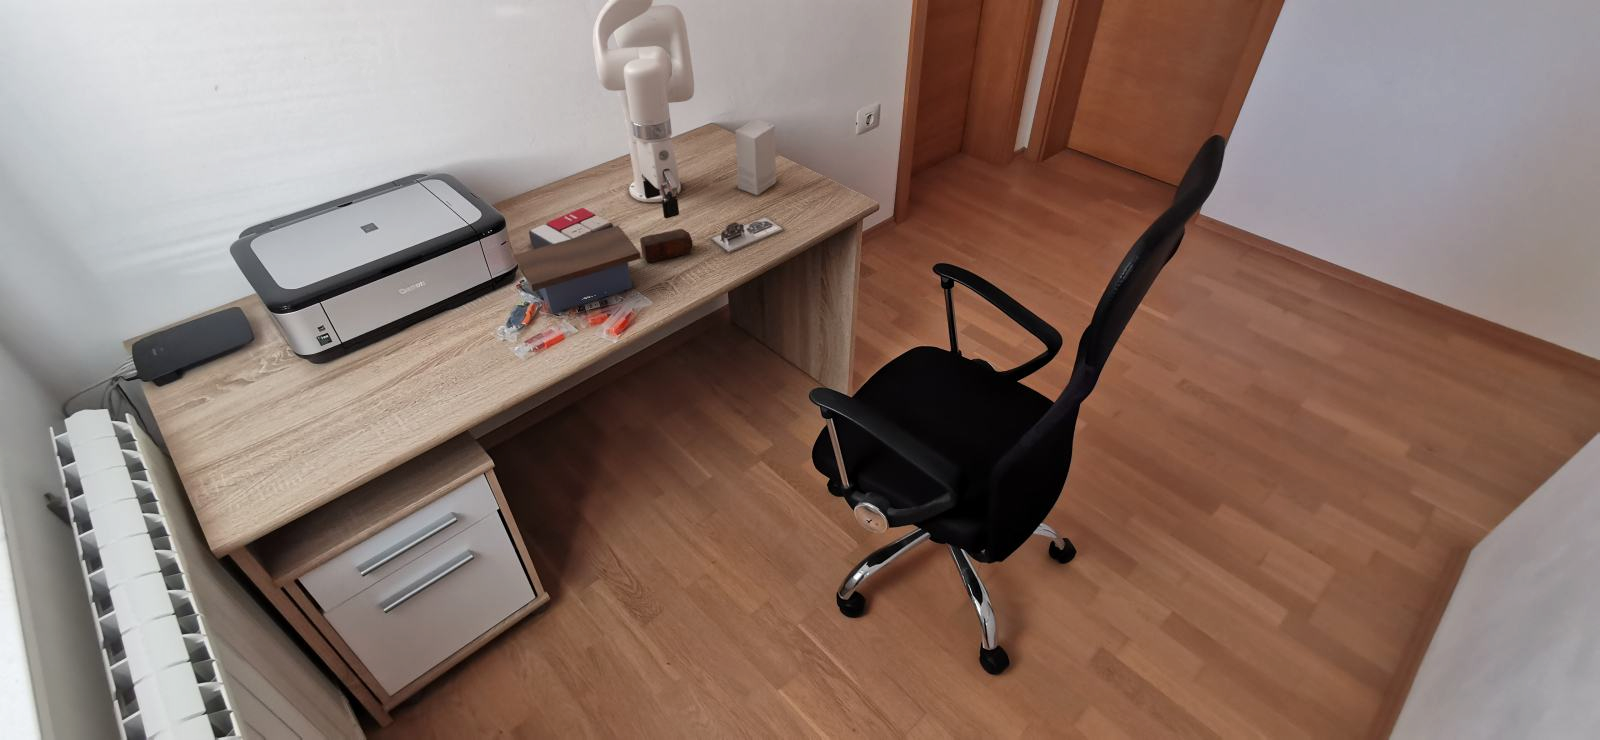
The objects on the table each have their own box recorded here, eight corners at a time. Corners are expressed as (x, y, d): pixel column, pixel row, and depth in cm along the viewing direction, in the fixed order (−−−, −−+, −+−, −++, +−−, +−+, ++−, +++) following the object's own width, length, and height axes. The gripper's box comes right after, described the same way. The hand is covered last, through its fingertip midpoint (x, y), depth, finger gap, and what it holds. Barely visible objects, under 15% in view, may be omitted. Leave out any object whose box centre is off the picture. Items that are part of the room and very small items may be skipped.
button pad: (613, 221, 168) (557, 245, 159) (615, 237, 171) (561, 263, 162) (582, 205, 173) (527, 228, 164) (585, 221, 176) (530, 245, 167)
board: (515, 261, 150) (513, 254, 149) (619, 231, 158) (618, 225, 157) (533, 291, 142) (531, 285, 141) (641, 258, 151) (639, 252, 150)
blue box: (537, 288, 155) (529, 260, 150) (615, 264, 161) (609, 237, 157) (552, 313, 149) (544, 284, 144) (632, 288, 155) (627, 259, 150)
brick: (647, 264, 162) (644, 246, 158) (642, 255, 164) (639, 236, 161) (693, 253, 165) (691, 234, 162) (687, 244, 168) (685, 226, 165)
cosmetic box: (757, 176, 192) (755, 117, 181) (778, 183, 189) (777, 124, 179) (736, 189, 187) (733, 129, 176) (757, 196, 184) (755, 136, 174)
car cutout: (729, 252, 165) (727, 234, 162) (712, 239, 169) (711, 222, 166) (782, 230, 172) (782, 213, 169) (765, 218, 176) (764, 201, 173)
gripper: (688, 139, 141) (696, 219, 152) (652, 108, 152) (662, 185, 163) (651, 148, 138) (662, 229, 149) (617, 116, 149) (629, 194, 160)
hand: (662, 206), depth 156 cm, fingers open, 9 cm apart
